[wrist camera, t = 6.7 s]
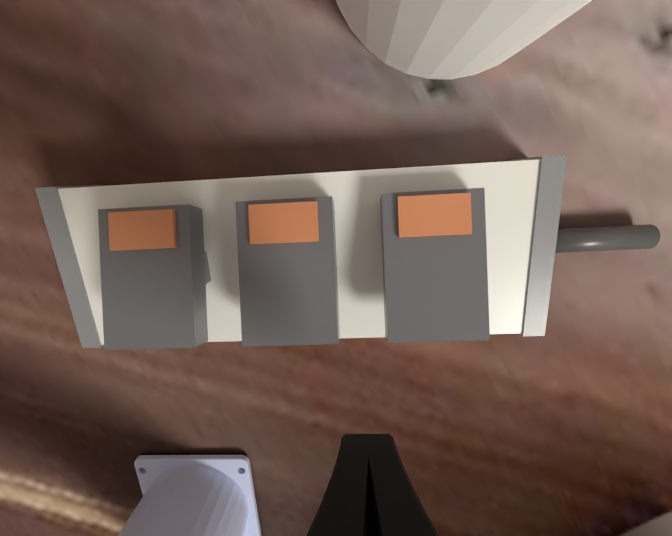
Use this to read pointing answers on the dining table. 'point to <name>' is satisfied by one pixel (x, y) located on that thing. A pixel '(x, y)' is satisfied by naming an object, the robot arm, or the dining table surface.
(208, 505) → the robot arm
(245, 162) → the dining table surface
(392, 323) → the block
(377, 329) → the power strip
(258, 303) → the rocker
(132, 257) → the rocker
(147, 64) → the dining table surface
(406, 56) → the bottle
